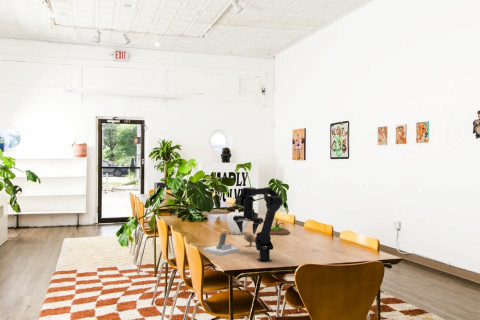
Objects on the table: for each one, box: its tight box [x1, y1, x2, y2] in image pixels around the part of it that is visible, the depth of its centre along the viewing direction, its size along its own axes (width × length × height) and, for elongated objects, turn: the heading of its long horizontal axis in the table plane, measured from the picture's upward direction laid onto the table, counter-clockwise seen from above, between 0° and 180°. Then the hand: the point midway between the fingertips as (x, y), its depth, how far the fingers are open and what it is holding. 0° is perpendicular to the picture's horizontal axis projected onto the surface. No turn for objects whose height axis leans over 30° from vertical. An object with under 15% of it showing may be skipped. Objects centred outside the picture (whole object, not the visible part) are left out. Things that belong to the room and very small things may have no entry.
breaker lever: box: [218, 229, 228, 248], centre depth 278 cm, size 2×5×12 cm, turn 140°
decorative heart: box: [225, 211, 250, 235], centre depth 342 cm, size 18×11×17 cm, turn 106°
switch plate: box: [202, 243, 240, 256], centre depth 279 cm, size 16×16×5 cm
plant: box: [270, 218, 291, 237], centre depth 350 cm, size 20×20×11 cm
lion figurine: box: [243, 232, 256, 248], centre depth 297 cm, size 15×5×9 cm, turn 90°
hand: (247, 233), depth 271 cm, fingers open, 9 cm apart
